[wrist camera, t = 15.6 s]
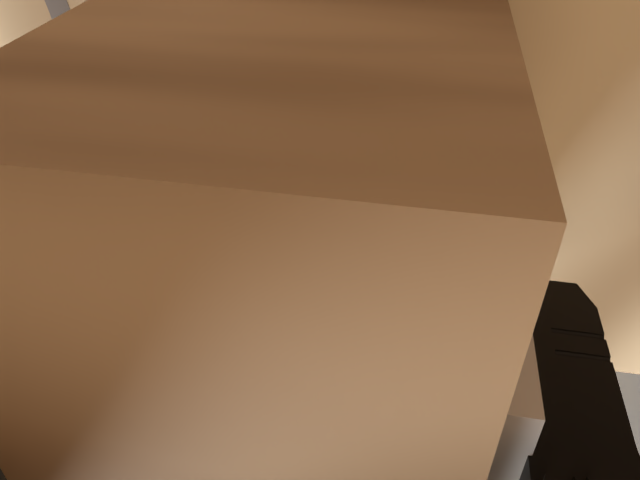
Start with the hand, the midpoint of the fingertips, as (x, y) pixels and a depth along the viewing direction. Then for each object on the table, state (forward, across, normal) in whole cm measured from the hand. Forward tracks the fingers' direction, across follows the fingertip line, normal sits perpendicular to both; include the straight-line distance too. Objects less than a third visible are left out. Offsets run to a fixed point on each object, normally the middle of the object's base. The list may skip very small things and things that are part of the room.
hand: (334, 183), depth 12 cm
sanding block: (+1, 0, 0) cm, 1 cm away
